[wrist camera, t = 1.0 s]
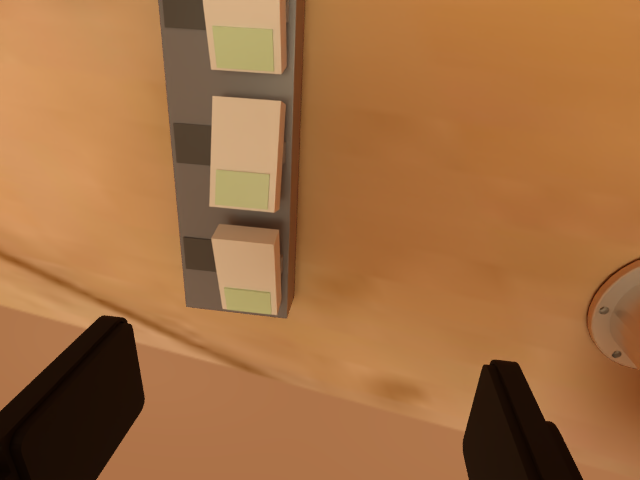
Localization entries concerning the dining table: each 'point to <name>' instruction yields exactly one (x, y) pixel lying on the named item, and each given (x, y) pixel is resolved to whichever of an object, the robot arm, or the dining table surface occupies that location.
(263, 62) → the rocker
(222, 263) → the rocker
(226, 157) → the rocker middle
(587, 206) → the dining table surface
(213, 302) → the power strip
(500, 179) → the dining table surface
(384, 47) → the dining table surface
